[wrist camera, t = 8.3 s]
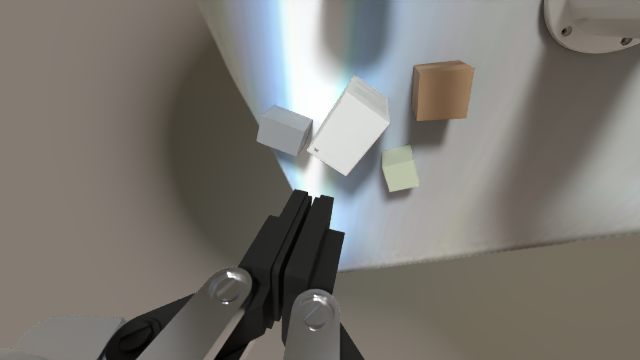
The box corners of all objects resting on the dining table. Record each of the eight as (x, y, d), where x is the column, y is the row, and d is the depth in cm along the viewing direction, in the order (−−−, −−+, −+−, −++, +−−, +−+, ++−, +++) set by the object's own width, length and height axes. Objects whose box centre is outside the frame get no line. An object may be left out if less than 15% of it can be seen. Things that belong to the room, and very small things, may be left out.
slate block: (312, 119, 37) (304, 131, 33) (305, 142, 39) (296, 157, 35) (274, 104, 37) (261, 115, 33) (269, 128, 39) (256, 141, 35)
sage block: (409, 144, 36) (413, 160, 32) (415, 167, 38) (420, 185, 34) (382, 151, 37) (382, 167, 33) (389, 173, 39) (389, 191, 35)
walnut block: (459, 60, 30) (474, 68, 25) (453, 103, 32) (466, 118, 27) (413, 65, 31) (419, 73, 26) (411, 106, 33) (416, 121, 28)
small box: (353, 142, 38) (345, 179, 29) (322, 121, 37) (304, 152, 28) (389, 97, 33) (392, 124, 24) (355, 72, 32) (345, 90, 24)
